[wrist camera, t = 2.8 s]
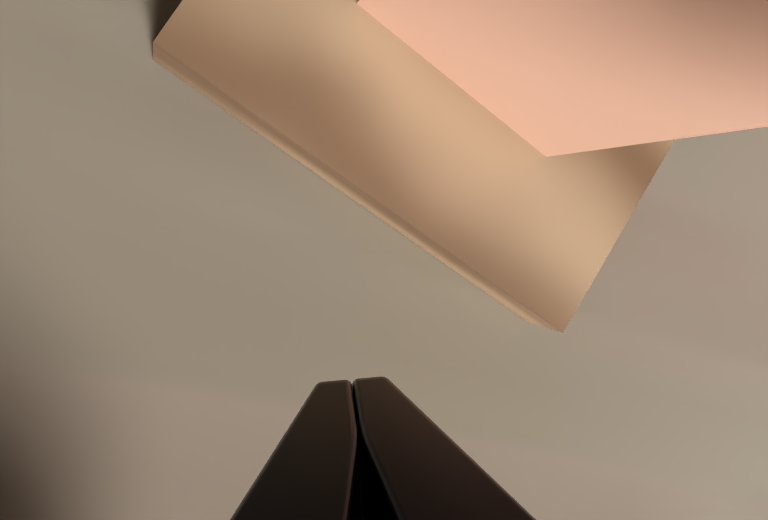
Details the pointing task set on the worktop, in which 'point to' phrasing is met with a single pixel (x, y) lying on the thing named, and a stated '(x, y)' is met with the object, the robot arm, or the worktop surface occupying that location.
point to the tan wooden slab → (413, 145)
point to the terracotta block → (597, 65)
